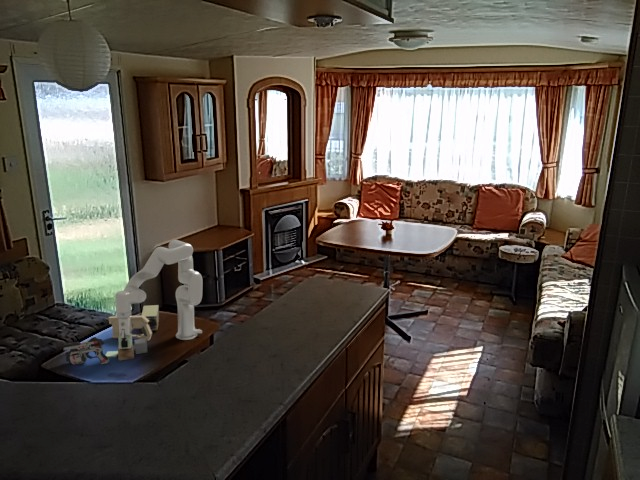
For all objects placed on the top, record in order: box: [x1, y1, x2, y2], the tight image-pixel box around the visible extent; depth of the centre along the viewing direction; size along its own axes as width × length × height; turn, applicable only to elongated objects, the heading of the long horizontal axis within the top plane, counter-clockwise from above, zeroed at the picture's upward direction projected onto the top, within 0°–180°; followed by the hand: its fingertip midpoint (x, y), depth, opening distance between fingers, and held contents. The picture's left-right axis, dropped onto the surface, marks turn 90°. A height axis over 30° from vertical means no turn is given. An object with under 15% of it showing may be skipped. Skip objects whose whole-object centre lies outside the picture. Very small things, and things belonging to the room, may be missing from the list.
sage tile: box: [105, 350, 118, 358], centre depth 289 cm, size 6×6×1 cm
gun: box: [108, 314, 153, 342], centre depth 309 cm, size 24×3×15 cm, turn 84°
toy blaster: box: [62, 336, 110, 365], centre depth 277 cm, size 4×21×15 cm, turn 95°
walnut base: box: [117, 344, 135, 361], centre depth 288 cm, size 8×8×5 cm
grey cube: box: [133, 338, 148, 355], centre depth 295 cm, size 6×6×6 cm
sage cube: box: [117, 332, 133, 349], centre depth 286 cm, size 6×6×6 cm
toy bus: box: [140, 304, 160, 331], centre depth 330 cm, size 10×23×10 cm, turn 14°
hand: (125, 344), depth 287 cm, fingers closed on sage cube, 5 cm apart
